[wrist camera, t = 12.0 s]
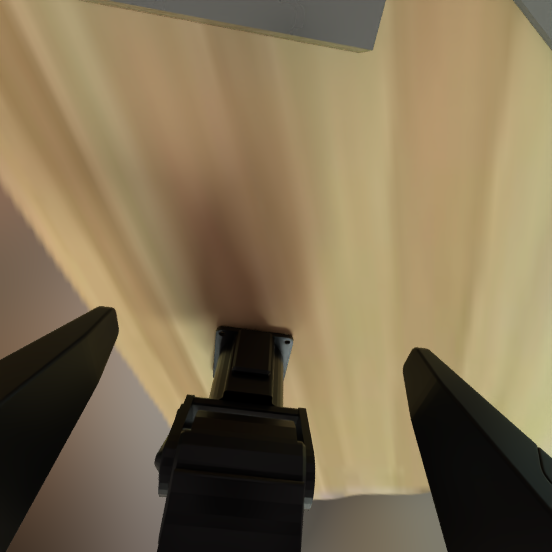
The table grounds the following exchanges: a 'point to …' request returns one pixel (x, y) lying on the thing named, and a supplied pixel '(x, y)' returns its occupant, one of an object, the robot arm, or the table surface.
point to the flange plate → (278, 18)
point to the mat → (538, 16)
